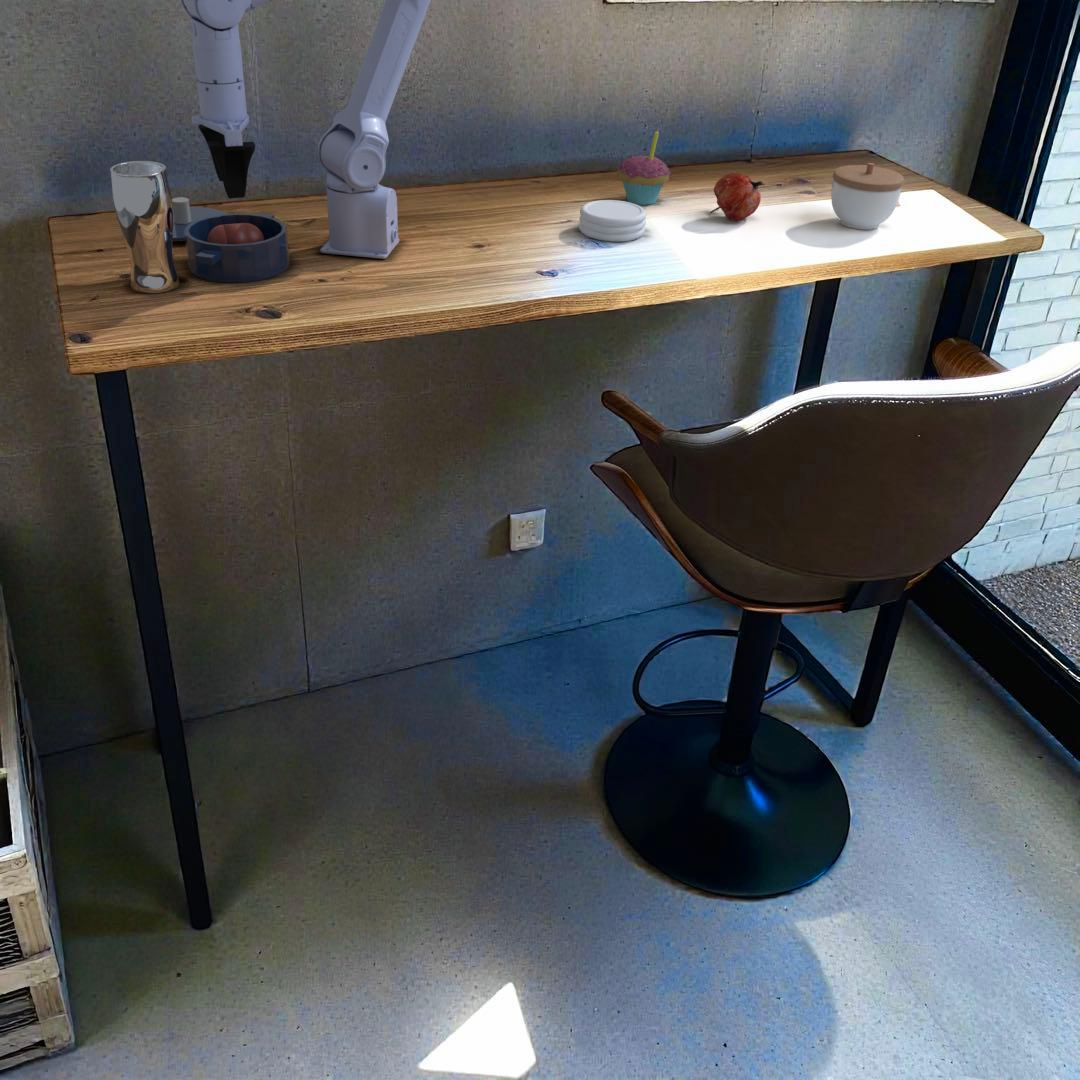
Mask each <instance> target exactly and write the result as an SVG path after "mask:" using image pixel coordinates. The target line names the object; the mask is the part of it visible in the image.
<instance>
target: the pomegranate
mask: <svg viewBox="0 0 1080 1080" xmlns="http://www.w3.org/2000/svg"><path fill="white" fill-rule="evenodd" d="M765 185H766V184H765V183H764V182H763V181H761V180H760V181H755V182H754V180H753V179H752V178H751V177H750V176H749V175H746V174H742V173H740V172H730V173H728V174H724V175H723V176H722V177H720V178H719V179H718V180H717V182H716V183H715V185H714V187H713V194H714V195H715V197H716V204H717V207H716V208H714V209H712V210H711V211H709V214H712V213H714V212H716V211H718V210H721V211H722V212H723V214H724V215H725V217H726V219H728V220H730V221H734V222H739V221H742V220H745V219H746V218H748V217H750V216H751V215H753V214H754V213H755V212H756V211H757V209H758V208H759V206H760V204H761V199H762V197H761V196H762V195H761V193H760V191H759V187H760V186H765Z"/></svg>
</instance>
